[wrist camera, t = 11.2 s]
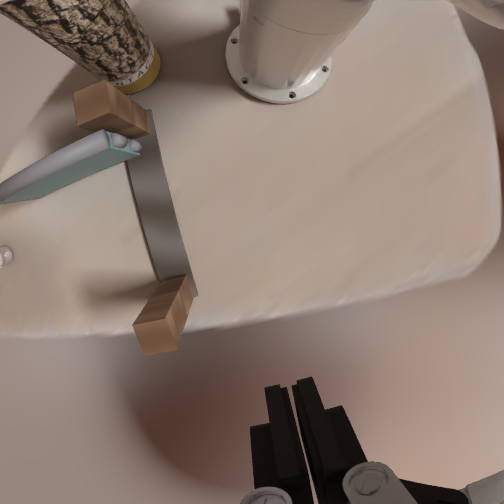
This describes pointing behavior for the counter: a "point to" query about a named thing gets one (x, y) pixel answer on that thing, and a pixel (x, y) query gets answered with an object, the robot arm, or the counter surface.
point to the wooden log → (93, 37)
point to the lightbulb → (5, 256)
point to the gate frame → (147, 213)
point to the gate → (69, 166)
